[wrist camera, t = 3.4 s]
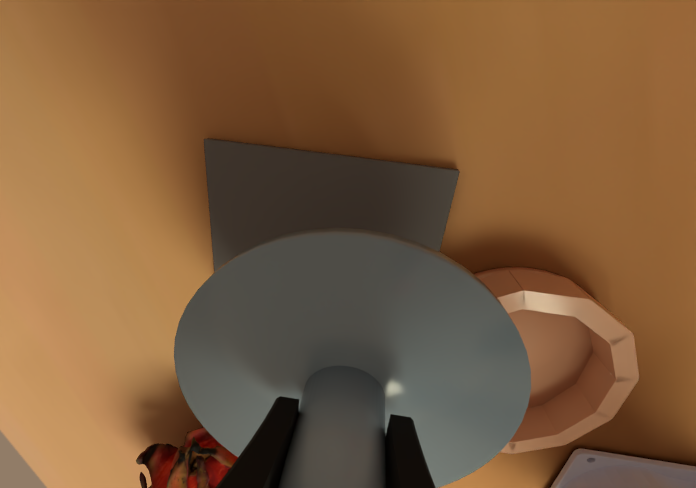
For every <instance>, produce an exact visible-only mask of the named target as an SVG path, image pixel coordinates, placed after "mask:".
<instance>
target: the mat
mask: <svg viewBox="0 0 696 488" xmlns="http://www.w3.org/2000/svg"><path fill="white" fill-rule="evenodd" d="M204 149H205V161H206V174H207V186H208V198H209V211H210V223H211V235H212V248H213V260H214V273H215V272H216V271H217V270H218V269H219V268H220V267H221V266H222V265H223V264H224V263H226V262H227V261H229V260H230V259H231V258H233V257H234V256H236V255H237V254H238V253H240V252H242V251H244V250H246V249H248V248H250V247H252V246H254V245H256V244H258V243H260V242H263V241H266V240H269V239H272V238H275V237H277V236H280V235H283V234H288V233H294V232H299V231H304V230H309V229H324V228H351V229H365V230H371V231H376V232H382V233H388V234H392V235H396V236H399V237H402V238H405V239H409V240H412V241H415V242H418V243H421V244H423V245H425V246H427V247H429V248H432V249H434V250H436V251H438V252H439V251H440V247H441V243H442V239H443V235H444V231H445V227H446V223H447V219H448V215H449V212H450V208H451V204H452V200H453V196H454V192H455V188H456V184H457V180H458V176H459V172H460V171H459V170H458V169H450V168H442V167H434V166H426V165H418V164H410V163H402V162H393V161H385V160H377V159H369V158H361V157H353V156H345V155H337V154H329V153H321V152H313V151H305V150H297V149H289V148H281V147H273V146H265V145H257V144H249V143H241V142H233V141H225V140H217V139H209V138H208V139H204Z"/></svg>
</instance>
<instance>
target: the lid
mask: <svg viewBox="0 0 696 488" xmlns="http://www.w3.org/2000/svg"><path fill="white" fill-rule="evenodd" d="M174 360H175V369H176V374H177V378H178V381H179V385H180V388H181V390H182V393H183V395H184V397H185V399H186V402H187V404H188V405H189V407H190V408H191V410H192V412H193V413H194V415H195V416H196V418H197V419H198V420H199V421H200V423H201V424H202V425H203V426H204V428H205V429H206V430H207V431H208V432H209V433H210V434H211V435H212V436H213V437H214V438H215V439H216V440H217V441H218V442H219V443H220V444H221V445H222V446H224V447H225V448H226V449H227V450H229V451H230V452H231V453H232V454H234V455H235V456H237V457H239V456H240V454H241V453H242V452H243V450H244V449H245V447H246V446H247V445H248V443H249V442H250V440H251V439H252V437H253V436H254V434H255V433H256V431H257V430H258V428H259V427H260V425H261V424H262V422H263V421H264V419H265V417H266V416H267V414H268V412H269V411H270V409H271V407H272V406H273V404H274V402H275V400H276V398H278V397H280V396H282V397H288V398H294V399H299V412H298V416H297V419H296V423H295V427H294V431H293V434H292V438H291V442H290V445H289V449H288V452H287V456H286V459H285V463H284V466H283V470H282V474H281V478H280V481H279V485H278V488H386V432H387V428H388V423H389V419H390V415H391V414H394V415H400V416H406V417H411V418H412V419H413V421H414V425H415V429H416V432H417V436H418V439H419V442H420V445H421V448H422V451H423V454H424V457H425V460H426V463H427V466H428V469H429V471H430V474H431V477H432V480H433V482H434V485H435V487H436V488H438V487H441V486H444V485H447V484H449V483H452V482H454V481H457V480H459V479H461V478H463V477H465V476H467V475H469V474H471V473H472V472H474V471H476V470H477V469H479V468H480V467H482V466H483V465H485V464H486V463H488V462H489V461H490V460H491V459H492V458H494V457H495V456H496V455H497V454H498V453H499V452H500V451H501V450H502V449H503V448H504V447H505V446H506V445H507V443H508V442H509V441H510V440H511V439H512V437H513V436H514V434H515V433H516V431H517V429H518V428H519V426H520V424H521V423H522V420H523V418H524V415H525V412H526V410H527V407H528V403H529V397H530V392H531V368H530V364H529V359H528V354H527V350H526V348H525V346H524V343H523V341H522V338H521V336H520V334H519V331H518V330H517V328H516V326H515V324H514V323H513V321H512V319H511V318H510V316H509V314H508V313H507V311H506V310H505V308H504V307H503V305H502V303H501V302H500V300H499V299H498V298H497V297H496V296H495V295H494V294H493V293H492V291H491V290H490V289H489V288H488V287H487V286H486V285H485V284H484V283H483V282H482V281H481V280H480V279H479V278H477V277H476V276H475V275H474V274H473V273H471V272H470V271H469V270H468V269H466V268H465V267H464V266H462V265H461V264H459V263H457V262H456V261H454V260H452V259H451V258H449V257H448V256H446V255H444V254H443V253H440V252H438V251H436V250H434V249H432V248H429V247H427V246H425V245H423V244H421V243H418V242H415V241H412V240H409V239H405V238H402V237H399V236H396V235H392V234H388V233H382V232H376V231H371V230H365V229H351V228H324V229H309V230H304V231H299V232H294V233H288V234H283V235H280V236H277V237H275V238H272V239H269V240H266V241H263V242H260V243H258V244H256V245H254V246H252V247H250V248H248V249H246V250H244V251H242V252H240V253H238V254H237V255H236V256H234V257H233V258H231V259H230V260H229V261H227V262H226V263H224V264H223V265H222V266H221V267H220V268H219V269H218V270H217V271H216V272H215V273H214V274H213V275H212V276H211V277H210V278H209V279H208V280H207V281H206V282H205V283H204V284H203V285H202V286H201V287H200V288H199V289H198V290H197V292H196V293H195V295H194V296H193V297H192V299H191V300H190V302H189V303H188V305H187V306H186V308H185V311H184V313H183V315H182V317H181V319H180V321H179V325H178V329H177V333H176V337H175V347H174Z"/></svg>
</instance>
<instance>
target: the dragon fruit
mask: <svg viewBox="0 0 696 488" xmlns="http://www.w3.org/2000/svg"><path fill="white" fill-rule="evenodd" d="M237 459H238V457H237V456H235V455H234V454H232V453H231V452H230V451H229V450H227V449H226V448H225V447H224V446H222V445H221V444H220V443H219V442H218V441H217V440H216V439H215V438H214V437H213V436H212V435H211V434H210V433H209V432H208V431H207V430H206V429H205V428H204V426H203V427H202V428H200V429H197V430H194V431H190V432H187V435H186V441H185V445H184V446H181V447H180V448H179V449H178V448H177V447H174V446H172V445H170V444H166V445H165V444H154V445H151V446H149V447H148V448H147V449H146V450H145V451H144V452H142V453H141V454H140V455H139V456H138V458H137V460H136V462H137V464H145V465H146V467H147V468H148V470H149V473H150V477H151V482H152V485H151V486H150V487H149V488H215V487H216V486H217V485H218V484H219V482H220V481H221V480H222V479H223V477H224V476H225V475H226V473H227V472H228V471H229V470H230V468H231V467H232V466H233V464H234V463H235V461H236V460H237ZM140 482H141V486H142V488H147V483H146V478H145V476H144V474H143V473H142V472H141V473H140Z"/></svg>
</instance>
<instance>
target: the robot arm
mask: <svg viewBox="0 0 696 488" xmlns="http://www.w3.org/2000/svg"><path fill="white" fill-rule="evenodd" d="M298 412H299V399H294V398H288V397H282V396H280V397H278V398H276V400H275V402H274V404H273V406H272V407H271V409H270V411H269V412H268V414H267V416H266V417H265V419H264V421H263V422H262V424H261V425H260V427H259V428H258V430H257V431H256V433H255V434H254V436H253V437H252V439H251V440H250V442H249V443H248V445H247V446H246V447H245V449H244V450H243V452H242V453H241V454H240V456H239V457H238V459H237V460H236V461H235V463H234V464H233V466H232V467H231V468H230V470H229V471H228V472H227V473H226V475H225V476H224V477H223V479H222V480H221V481H220V482H219V484H218V485H217V486H216V487H215V488H278V485H279V481H280V478H281V474H282V470H283V466H284V463H285V459H286V456H287V452H288V449H289V445H290V442H291V438H292V434H293V431H294V427H295V423H296V419H297V416H298ZM386 488H436V487H435V485H434V482H433V480H432V477H431V474H430V471H429V469H428V466H427V463H426V460H425V457H424V454H423V451H422V448H421V445H420V442H419V439H418V436H417V432H416V429H415V425H414V421H413V419H412V418H411V417H406V416H400V415H394V414H391V415H390V419H389V423H388V428H387V432H386ZM551 488H696V466H689V465H683V464H677V463H670V462H664V461H658V460H651V459H645V458H639V457H633V456H626V455H620V454H614V453H607V452H601V451H595V450H588V449H576V450H575V451H574V452H573V453H572V455H571V456H570V458H569V459H568V461H567V462H566V464H565V466H564V467H563V469H562V470H561V472H560V474H559V475H558V477H557V478H556V480H555V481H554V483H553V485H552V486H551Z"/></svg>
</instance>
